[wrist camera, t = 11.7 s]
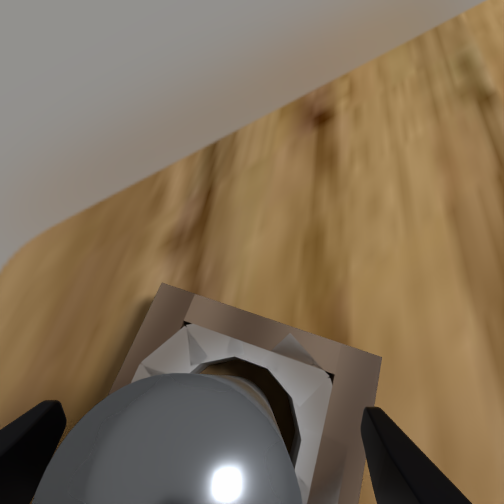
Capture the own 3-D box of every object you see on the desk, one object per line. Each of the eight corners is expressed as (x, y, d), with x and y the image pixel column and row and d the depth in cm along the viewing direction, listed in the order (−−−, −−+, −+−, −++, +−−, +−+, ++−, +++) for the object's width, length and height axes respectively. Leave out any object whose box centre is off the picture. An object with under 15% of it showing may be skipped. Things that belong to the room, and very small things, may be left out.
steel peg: (282, 392, 16) (333, 424, 5) (257, 485, 14) (251, 832, 3) (209, 364, 17) (111, 339, 6) (176, 450, 15) (-47, 648, 4)
